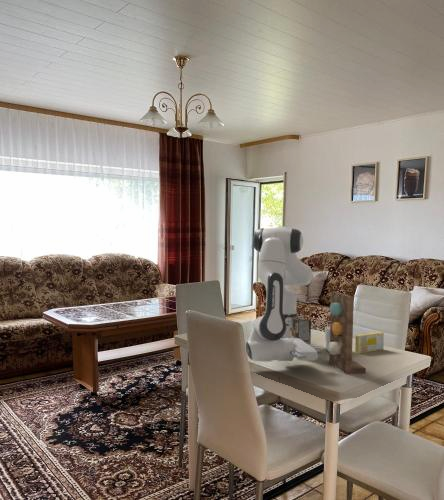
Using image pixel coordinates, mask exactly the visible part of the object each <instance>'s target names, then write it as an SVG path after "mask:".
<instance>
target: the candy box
mask: <svg viewBox="0 0 444 500" xmlns="http://www.w3.org/2000/svg"><path fill="white" fill-rule="evenodd" d="M384 343H385V342H384V332H382V331H379V332H371V333H365V334H363V333H362V334H355V346H354V347H355V351H354V352H355V353H356V354H363V353H364V352H365V353H370V352H371V351H372V352H378V351H377V350H379V351H383V349H384V345H385V344H384ZM365 353H364V354H365Z"/></svg>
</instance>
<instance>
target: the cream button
mask: <svg viewBox="0 0 444 500" xmlns="http://www.w3.org/2000/svg"><path fill="white" fill-rule="evenodd" d="M328 352H329V355H330V354H331V355H334V354H341V343H340V342H330V343H329V350H328Z"/></svg>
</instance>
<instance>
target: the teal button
mask: <svg viewBox="0 0 444 500" xmlns="http://www.w3.org/2000/svg"><path fill="white" fill-rule="evenodd" d="M329 312H330V315H331V314H332V315H342V313H343V303H331V302H330V305H329Z"/></svg>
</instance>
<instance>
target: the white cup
mask: <svg viewBox="0 0 444 500" xmlns="http://www.w3.org/2000/svg"><path fill="white" fill-rule="evenodd" d="M324 336H325V350H326V351H329V343H330V326H325V335H324ZM340 343H341V342H340Z"/></svg>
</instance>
